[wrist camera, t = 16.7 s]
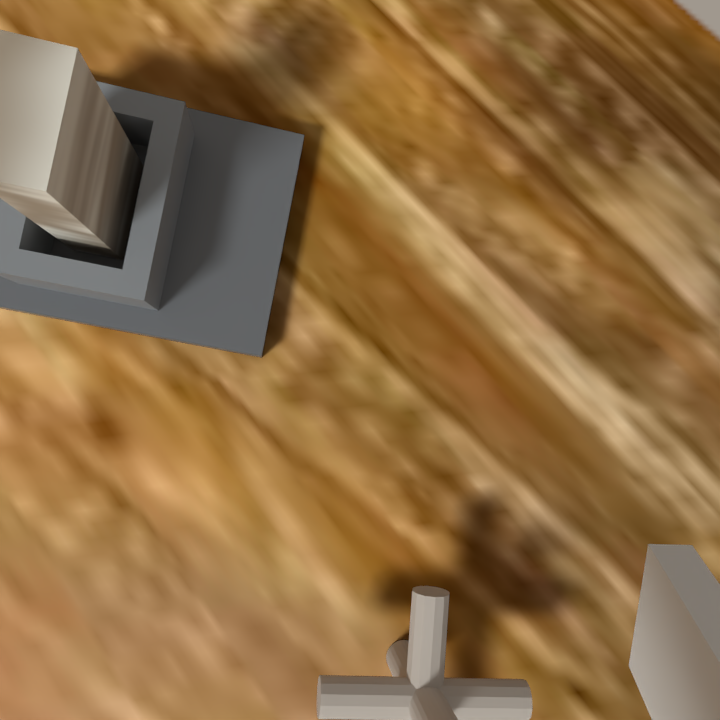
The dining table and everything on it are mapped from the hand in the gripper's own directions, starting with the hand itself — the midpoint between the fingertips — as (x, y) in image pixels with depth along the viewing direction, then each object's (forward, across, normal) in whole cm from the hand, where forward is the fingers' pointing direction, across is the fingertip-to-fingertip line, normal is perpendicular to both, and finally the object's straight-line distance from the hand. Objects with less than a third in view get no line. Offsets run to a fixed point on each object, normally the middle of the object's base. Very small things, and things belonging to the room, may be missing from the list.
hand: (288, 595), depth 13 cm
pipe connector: (+19, +3, -19) cm, 27 cm away
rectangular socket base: (+25, -13, +4) cm, 28 cm away
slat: (+24, -13, +4) cm, 27 cm away
